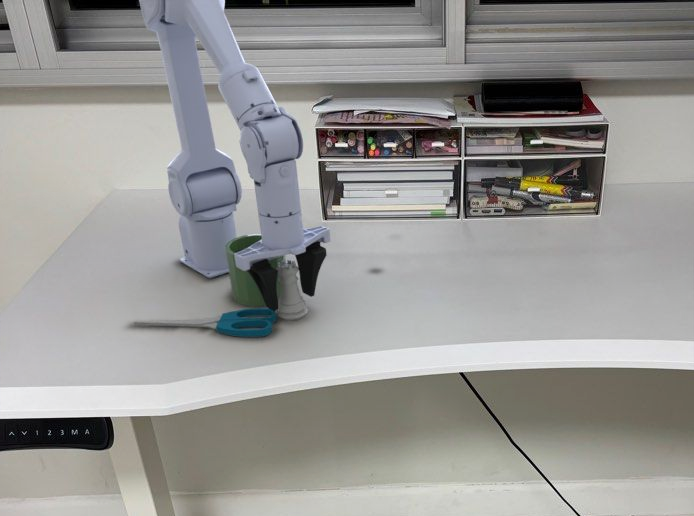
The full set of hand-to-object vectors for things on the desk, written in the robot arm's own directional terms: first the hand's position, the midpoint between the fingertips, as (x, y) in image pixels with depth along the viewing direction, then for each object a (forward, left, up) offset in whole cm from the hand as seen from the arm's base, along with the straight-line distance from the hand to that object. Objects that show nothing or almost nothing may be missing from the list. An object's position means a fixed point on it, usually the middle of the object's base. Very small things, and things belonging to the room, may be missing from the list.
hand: (290, 301), depth 114 cm
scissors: (-6, -11, -2) cm, 13 cm away
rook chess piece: (0, 0, -2) cm, 2 cm away
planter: (-9, +1, -2) cm, 9 cm away
